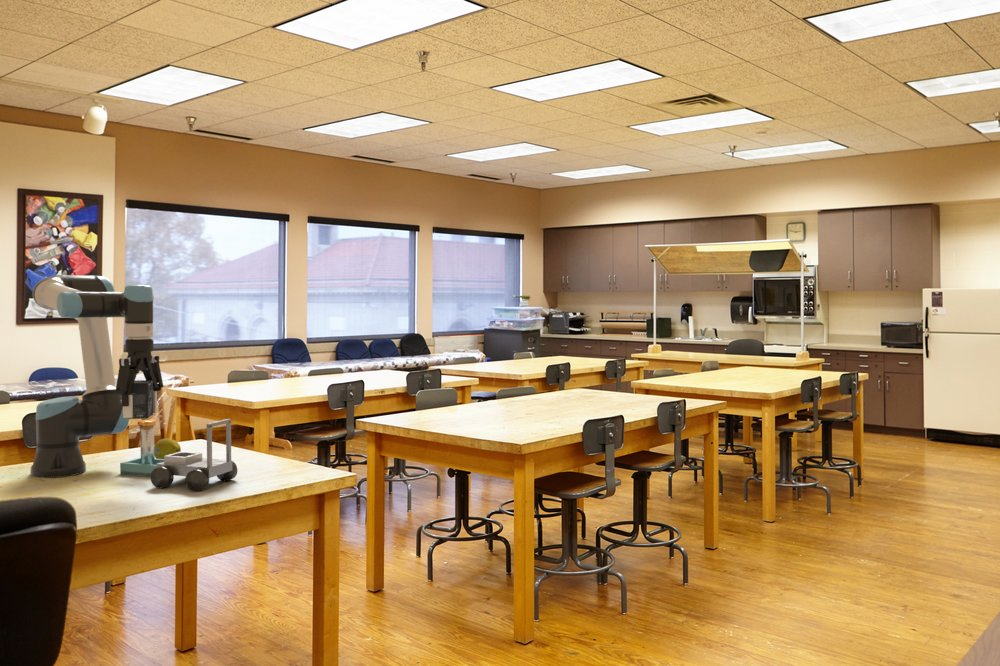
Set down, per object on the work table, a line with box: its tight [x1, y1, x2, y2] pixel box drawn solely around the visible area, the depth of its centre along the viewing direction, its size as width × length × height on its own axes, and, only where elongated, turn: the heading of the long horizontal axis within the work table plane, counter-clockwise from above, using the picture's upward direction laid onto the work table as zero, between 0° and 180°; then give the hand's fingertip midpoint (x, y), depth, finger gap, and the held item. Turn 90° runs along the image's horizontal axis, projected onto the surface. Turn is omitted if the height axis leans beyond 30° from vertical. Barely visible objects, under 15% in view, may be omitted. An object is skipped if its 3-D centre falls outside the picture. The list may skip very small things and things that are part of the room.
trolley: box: [150, 418, 238, 493], centre depth 238 cm, size 18×16×19 cm
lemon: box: [154, 438, 182, 459], centre depth 269 cm, size 11×8×8 cm
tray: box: [119, 457, 164, 477], centre depth 253 cm, size 13×9×4 cm
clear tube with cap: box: [137, 419, 157, 465], centre depth 253 cm, size 5×5×15 cm
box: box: [128, 379, 154, 420], centre depth 235 cm, size 8×6×11 cm
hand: (140, 415), depth 235 cm, fingers closed on box, 9 cm apart
